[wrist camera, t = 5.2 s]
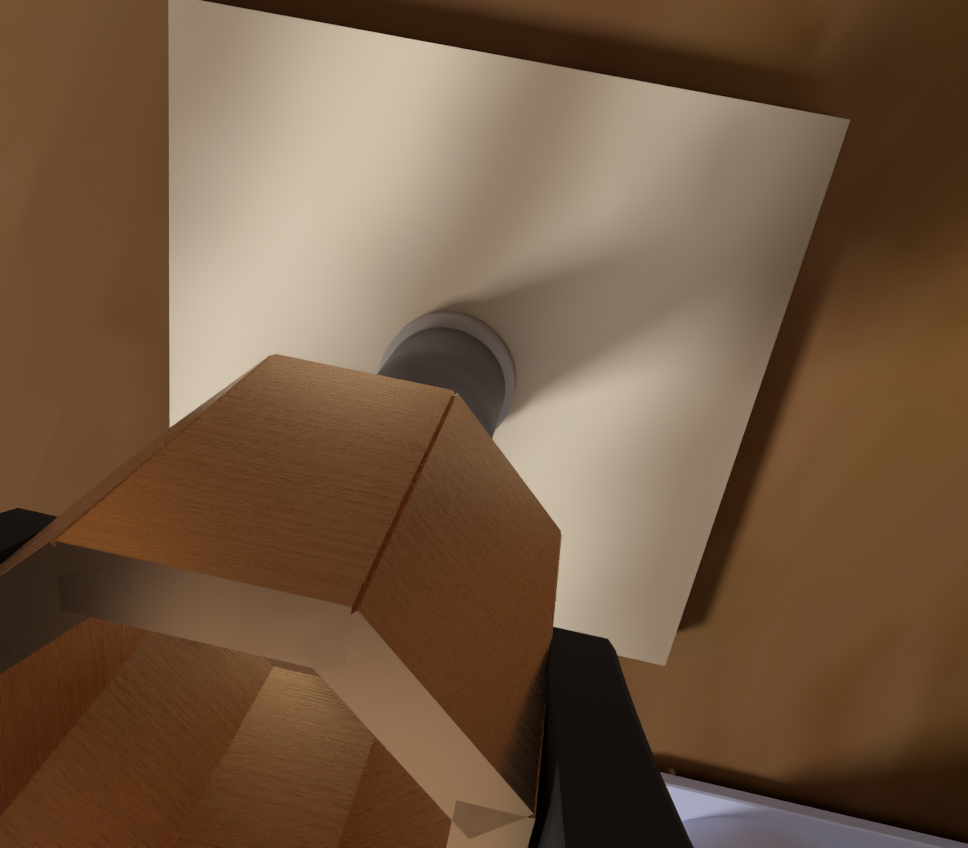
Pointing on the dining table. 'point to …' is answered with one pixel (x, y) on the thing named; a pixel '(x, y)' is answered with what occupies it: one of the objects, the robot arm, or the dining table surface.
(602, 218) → the shaft base
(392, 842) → the wooden ring
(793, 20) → the dining table surface
